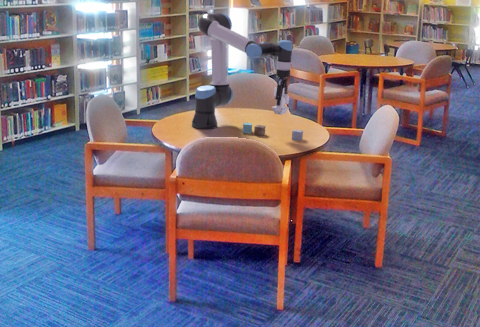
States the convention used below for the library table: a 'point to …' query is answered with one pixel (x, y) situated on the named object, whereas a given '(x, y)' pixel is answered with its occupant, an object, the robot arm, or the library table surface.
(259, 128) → the walnut block
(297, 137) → the slate-grey block
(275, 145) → the library table surface
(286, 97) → the figurine
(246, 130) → the dusty-teal block
